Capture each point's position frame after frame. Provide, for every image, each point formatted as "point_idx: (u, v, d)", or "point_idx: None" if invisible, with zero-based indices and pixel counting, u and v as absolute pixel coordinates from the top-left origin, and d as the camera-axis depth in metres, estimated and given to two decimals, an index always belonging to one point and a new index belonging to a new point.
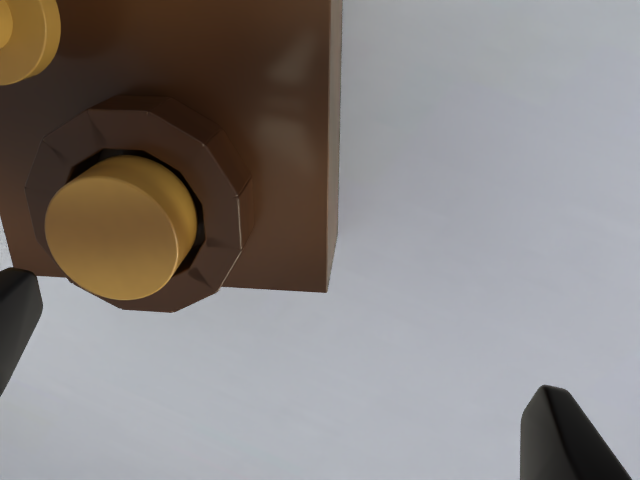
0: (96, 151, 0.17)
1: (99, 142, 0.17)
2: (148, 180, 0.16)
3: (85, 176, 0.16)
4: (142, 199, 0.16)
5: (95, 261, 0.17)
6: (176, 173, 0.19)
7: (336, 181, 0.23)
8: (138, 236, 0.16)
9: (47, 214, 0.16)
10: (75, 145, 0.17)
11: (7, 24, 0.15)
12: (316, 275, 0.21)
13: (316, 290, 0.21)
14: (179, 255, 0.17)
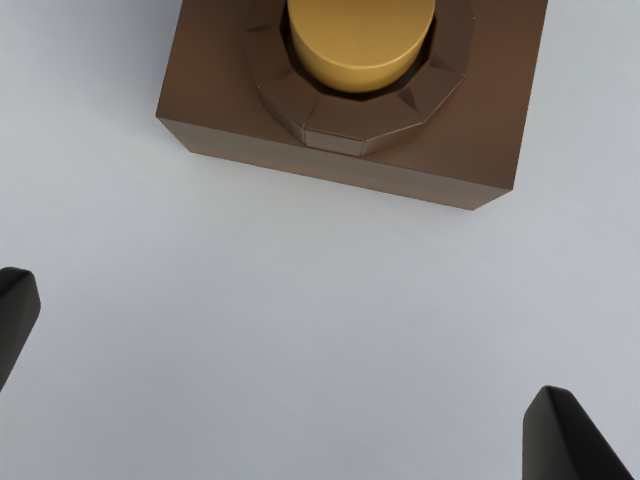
0: None
1: None
2: None
3: None
4: None
5: (336, 15, 0.15)
6: None
7: None
8: None
9: None
10: None
11: None
12: (505, 166, 0.19)
13: (501, 185, 0.19)
14: (428, 28, 0.15)
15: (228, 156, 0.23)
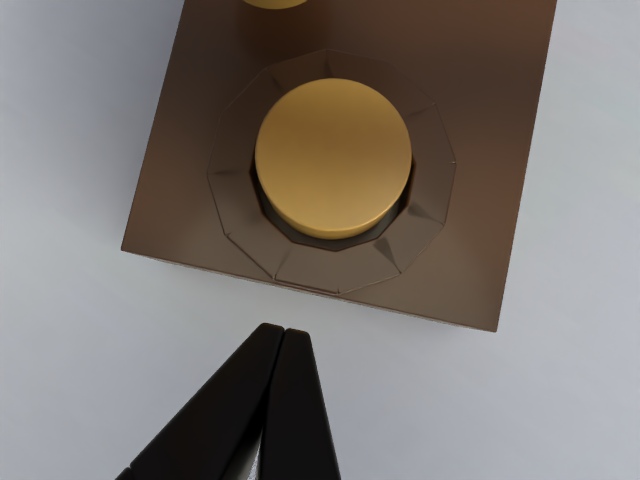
0: None
1: None
2: None
3: (331, 79, 0.15)
4: (387, 111, 0.15)
5: (306, 173, 0.14)
6: None
7: None
8: (368, 151, 0.15)
9: (272, 110, 0.15)
10: (299, 79, 0.16)
11: None
12: (488, 307, 0.18)
13: (484, 327, 0.18)
14: (404, 186, 0.15)
15: None
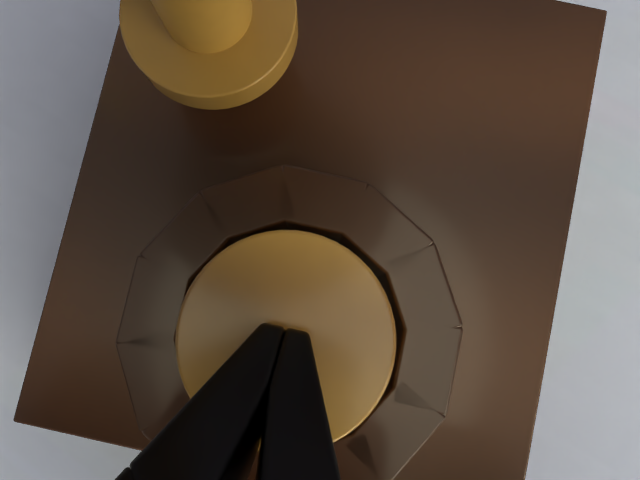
0: (273, 223, 0.12)
1: (283, 211, 0.12)
2: None
3: (284, 230, 0.11)
4: (363, 279, 0.10)
5: None
6: None
7: None
8: (335, 338, 0.10)
9: (200, 277, 0.10)
10: (245, 208, 0.12)
11: (247, 22, 0.11)
12: None
13: None
14: (386, 385, 0.10)
15: None
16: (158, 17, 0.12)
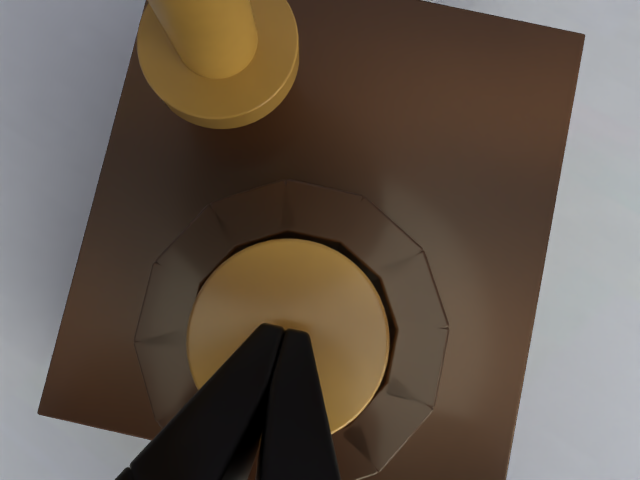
0: (276, 232, 0.13)
1: (286, 221, 0.13)
2: None
3: (286, 239, 0.11)
4: (359, 284, 0.11)
5: None
6: None
7: None
8: (333, 338, 0.11)
9: (208, 282, 0.11)
10: (251, 219, 0.13)
11: (253, 50, 0.12)
12: None
13: None
14: (380, 381, 0.11)
15: None
16: (172, 46, 0.13)
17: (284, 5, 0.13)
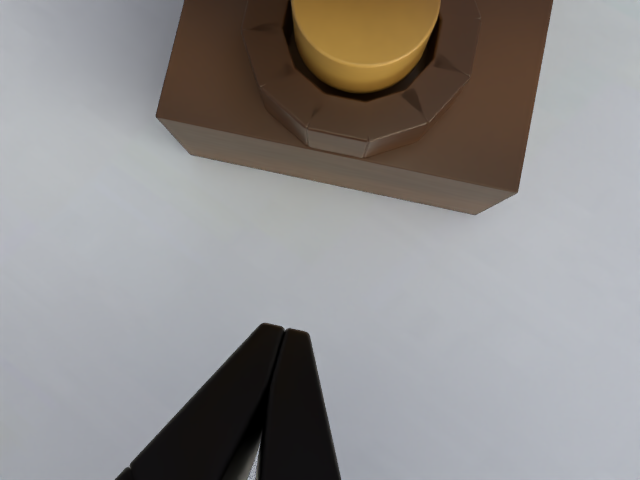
0: None
1: None
2: None
3: None
4: None
5: (340, 12, 0.15)
6: None
7: None
8: None
9: None
10: None
11: None
12: (510, 169, 0.18)
13: (506, 188, 0.18)
14: (433, 26, 0.15)
15: (229, 159, 0.23)
16: None
17: None
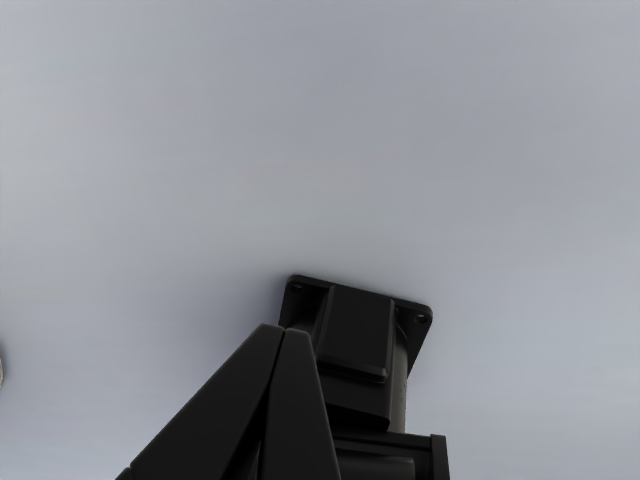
0: None
1: None
2: None
3: None
4: None
5: None
6: None
7: None
8: None
9: None
10: None
11: None
12: None
13: None
14: None
15: None
16: None
17: None
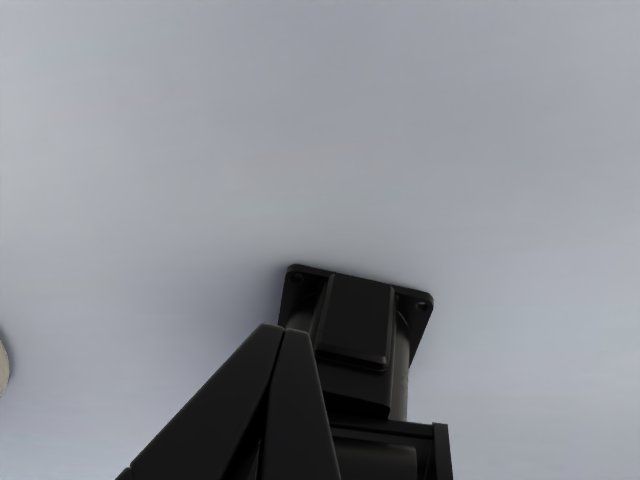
0: None
1: None
2: None
3: None
4: None
5: None
6: None
7: None
8: None
9: None
10: None
11: None
12: None
13: None
14: None
15: None
16: None
17: None
